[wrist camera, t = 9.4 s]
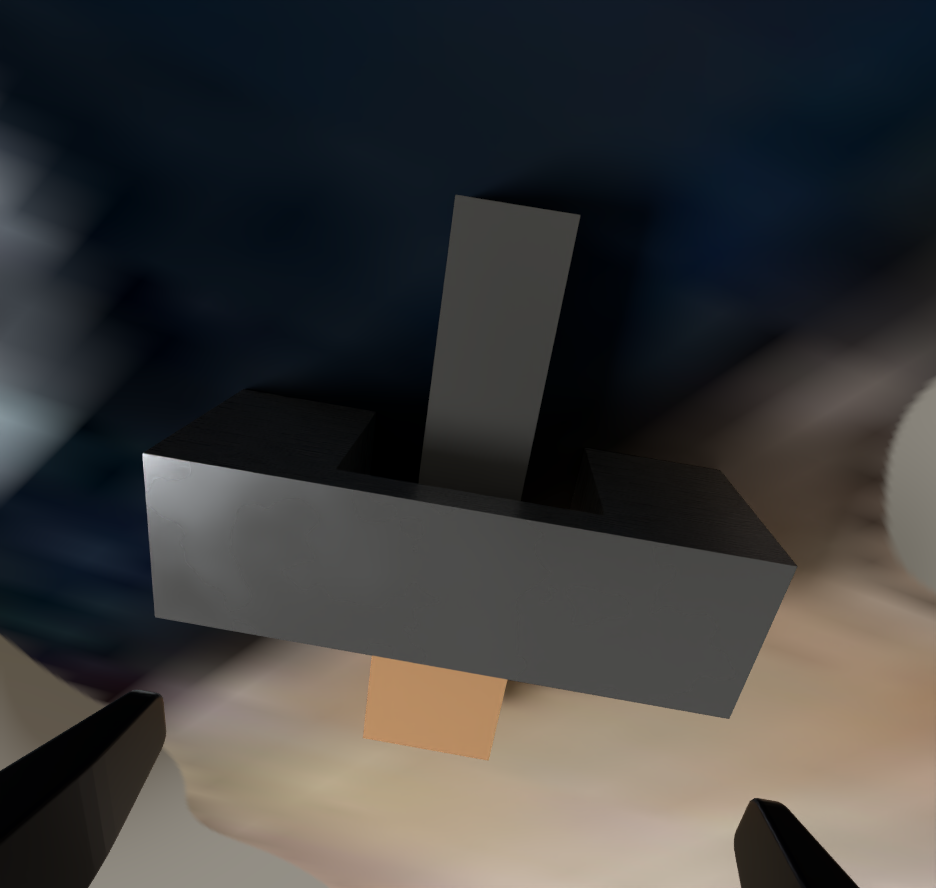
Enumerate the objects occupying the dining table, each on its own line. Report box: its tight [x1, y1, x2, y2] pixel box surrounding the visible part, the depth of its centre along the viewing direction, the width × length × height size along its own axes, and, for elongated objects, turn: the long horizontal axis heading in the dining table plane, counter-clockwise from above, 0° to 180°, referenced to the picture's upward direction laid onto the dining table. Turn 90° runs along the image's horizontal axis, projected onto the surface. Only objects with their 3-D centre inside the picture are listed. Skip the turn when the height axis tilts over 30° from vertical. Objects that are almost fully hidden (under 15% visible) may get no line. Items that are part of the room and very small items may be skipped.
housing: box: [143, 389, 797, 719], centre depth 17 cm, size 5×16×6 cm, turn 81°
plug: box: [363, 195, 580, 760], centre depth 18 cm, size 19×4×4 cm, turn 171°
